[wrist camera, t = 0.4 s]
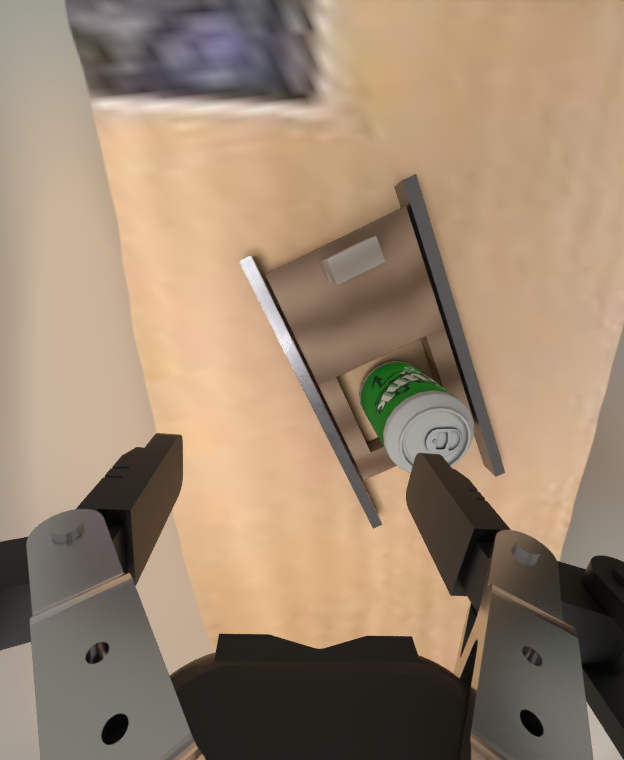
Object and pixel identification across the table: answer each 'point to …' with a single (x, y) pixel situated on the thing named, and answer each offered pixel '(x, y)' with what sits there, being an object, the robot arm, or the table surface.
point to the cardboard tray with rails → (364, 316)
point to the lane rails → (428, 247)
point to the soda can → (415, 414)
